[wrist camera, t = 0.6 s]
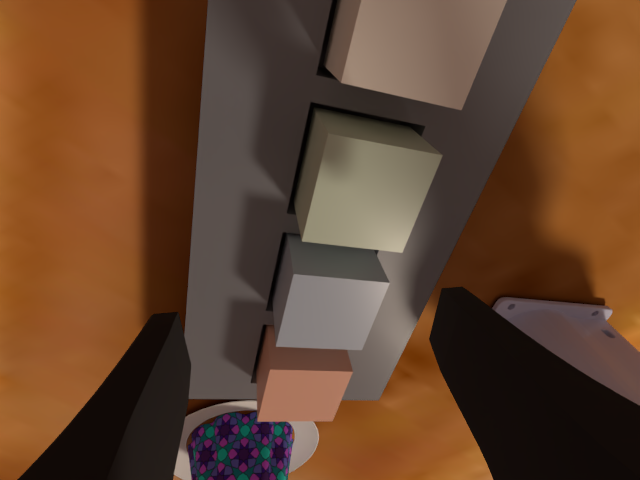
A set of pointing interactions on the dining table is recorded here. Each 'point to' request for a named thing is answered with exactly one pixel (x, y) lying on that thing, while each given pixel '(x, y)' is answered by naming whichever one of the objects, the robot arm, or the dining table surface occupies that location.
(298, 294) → the key slate
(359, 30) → the key ivory
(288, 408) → the key terracotta
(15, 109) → the dining table surface
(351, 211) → the key sage
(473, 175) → the keypad board
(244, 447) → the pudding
